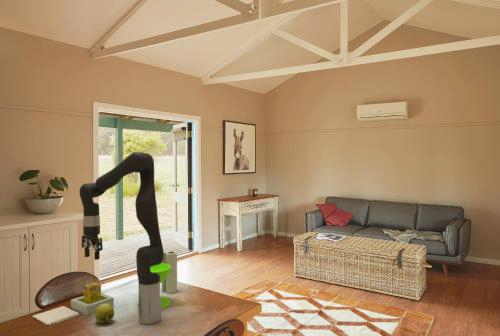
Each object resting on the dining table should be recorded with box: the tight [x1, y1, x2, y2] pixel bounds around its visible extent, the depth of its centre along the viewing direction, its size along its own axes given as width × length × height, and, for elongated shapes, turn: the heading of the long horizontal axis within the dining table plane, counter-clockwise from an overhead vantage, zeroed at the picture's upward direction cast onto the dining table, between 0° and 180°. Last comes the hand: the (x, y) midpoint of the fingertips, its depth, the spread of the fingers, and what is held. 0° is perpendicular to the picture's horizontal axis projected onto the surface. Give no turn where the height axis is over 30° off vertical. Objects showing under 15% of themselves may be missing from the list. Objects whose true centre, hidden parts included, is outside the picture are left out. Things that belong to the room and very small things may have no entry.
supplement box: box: [83, 281, 102, 304], centre depth 182 cm, size 6×6×11 cm
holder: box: [70, 292, 115, 316], centre depth 182 cm, size 14×14×4 cm
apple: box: [94, 303, 115, 324], centre depth 165 cm, size 8×9×8 cm
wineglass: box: [137, 263, 172, 310], centre depth 186 cm, size 16×16×18 cm
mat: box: [32, 305, 80, 326], centre depth 171 cm, size 14×14×1 cm
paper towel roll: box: [161, 250, 178, 294], centre depth 203 cm, size 7×6×21 cm
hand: (91, 258), depth 181 cm, fingers open, 8 cm apart
